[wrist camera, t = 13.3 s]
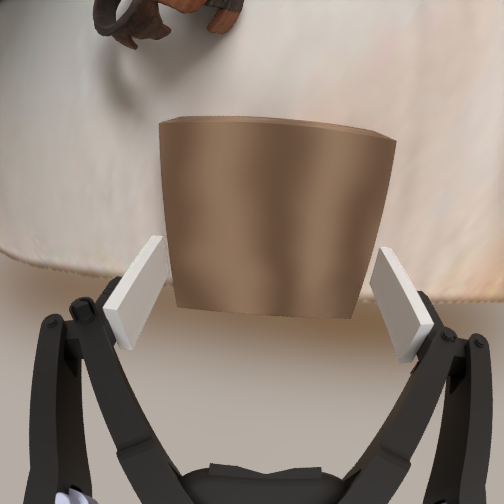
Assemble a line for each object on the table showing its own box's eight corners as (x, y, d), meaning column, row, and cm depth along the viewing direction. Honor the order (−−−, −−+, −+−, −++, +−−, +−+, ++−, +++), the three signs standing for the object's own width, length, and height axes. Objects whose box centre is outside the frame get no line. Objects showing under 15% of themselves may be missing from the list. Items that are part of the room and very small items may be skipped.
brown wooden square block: (190, 273, 28) (177, 307, 24) (181, 116, 20) (158, 123, 16) (341, 283, 27) (350, 318, 23) (371, 130, 20) (396, 141, 15)
